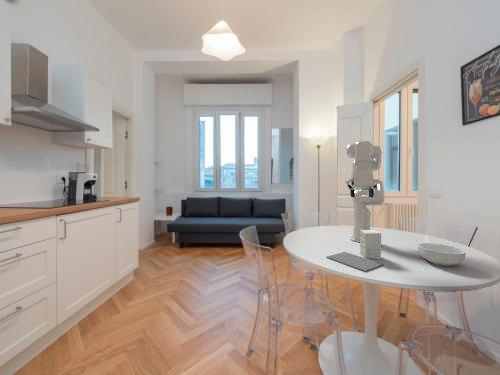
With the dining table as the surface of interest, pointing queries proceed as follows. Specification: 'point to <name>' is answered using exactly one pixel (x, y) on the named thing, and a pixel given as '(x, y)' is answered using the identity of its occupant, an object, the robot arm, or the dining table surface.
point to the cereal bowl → (441, 254)
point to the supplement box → (370, 244)
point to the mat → (355, 261)
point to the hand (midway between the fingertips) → (361, 197)
